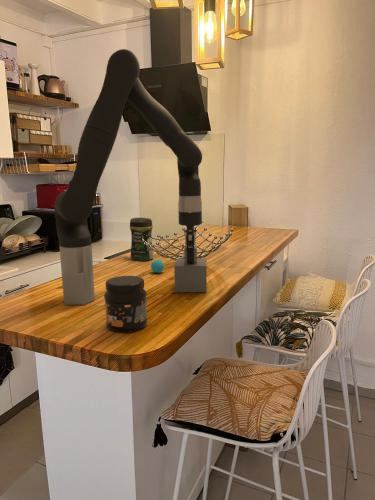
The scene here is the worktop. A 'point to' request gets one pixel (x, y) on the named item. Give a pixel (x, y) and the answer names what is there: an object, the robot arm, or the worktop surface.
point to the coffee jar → (137, 245)
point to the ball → (157, 266)
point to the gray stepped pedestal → (190, 274)
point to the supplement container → (125, 303)
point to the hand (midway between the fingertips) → (190, 261)
